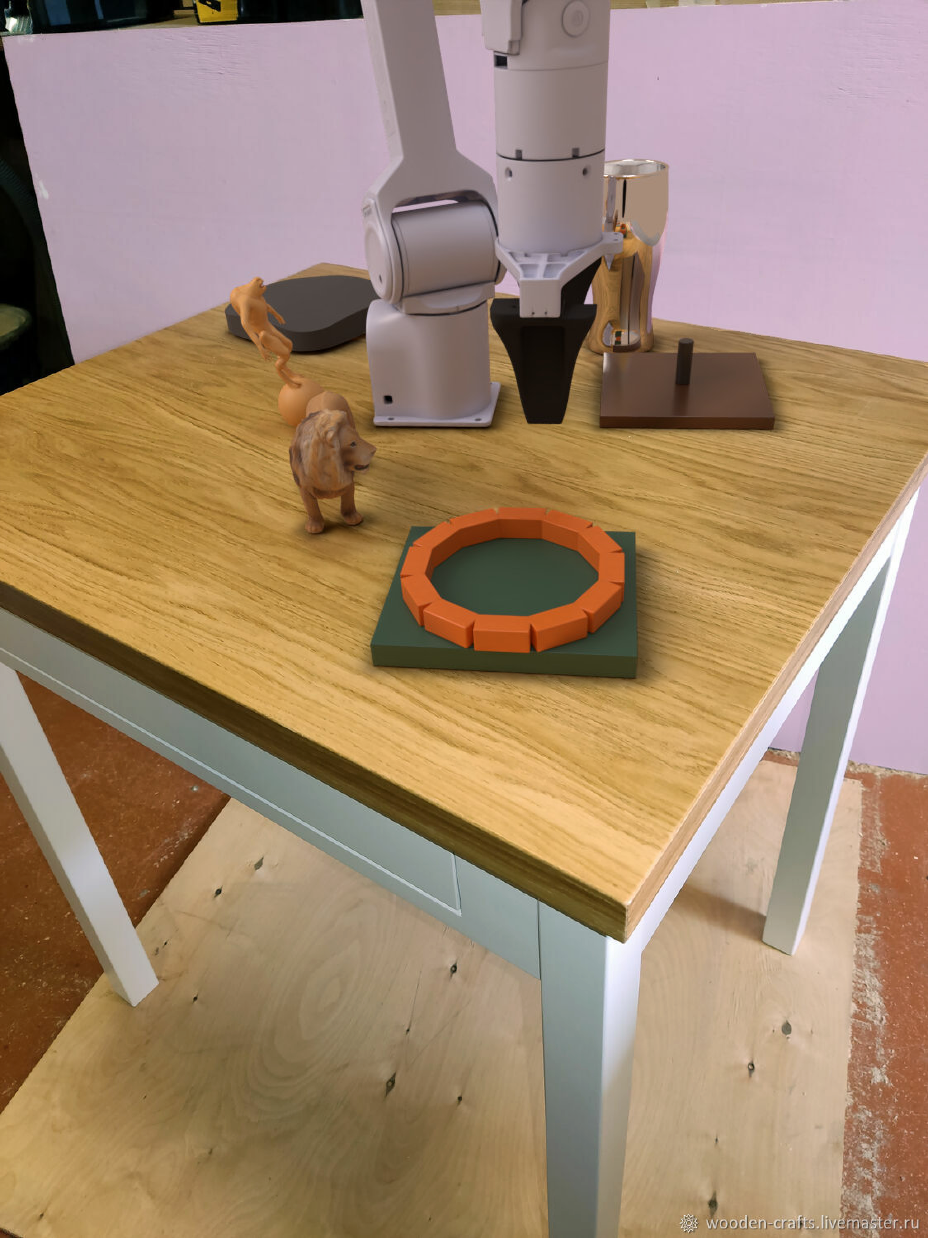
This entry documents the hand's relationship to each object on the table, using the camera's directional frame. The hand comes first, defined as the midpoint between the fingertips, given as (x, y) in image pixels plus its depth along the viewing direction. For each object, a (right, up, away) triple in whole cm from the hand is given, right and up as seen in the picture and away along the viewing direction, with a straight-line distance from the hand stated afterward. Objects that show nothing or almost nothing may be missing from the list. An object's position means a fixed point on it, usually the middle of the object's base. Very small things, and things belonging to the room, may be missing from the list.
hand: (549, 394), depth 56 cm
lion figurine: (-14, -6, +8) cm, 17 cm away
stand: (-2, -13, -3) cm, 14 cm away
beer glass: (+9, +11, +28) cm, 32 cm away
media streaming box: (-21, +16, +37) cm, 46 cm away
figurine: (-19, +2, +18) cm, 26 cm away
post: (+13, +5, +19) cm, 23 cm away
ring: (-2, -12, -4) cm, 13 cm away
